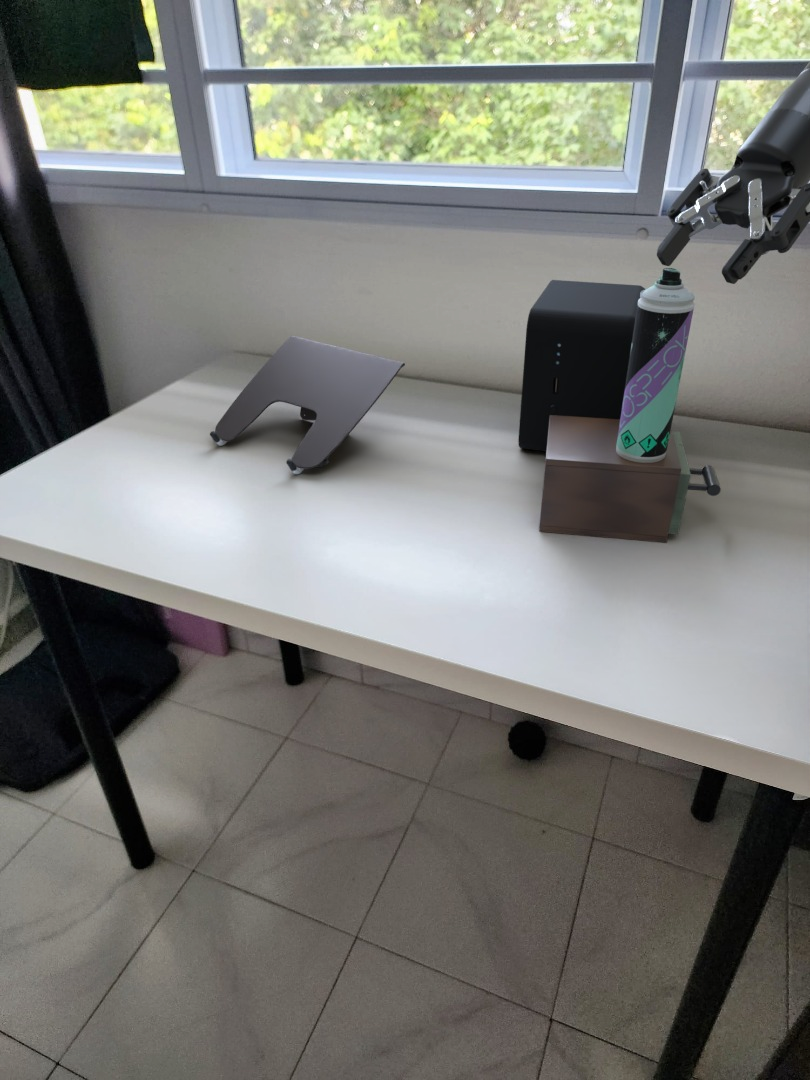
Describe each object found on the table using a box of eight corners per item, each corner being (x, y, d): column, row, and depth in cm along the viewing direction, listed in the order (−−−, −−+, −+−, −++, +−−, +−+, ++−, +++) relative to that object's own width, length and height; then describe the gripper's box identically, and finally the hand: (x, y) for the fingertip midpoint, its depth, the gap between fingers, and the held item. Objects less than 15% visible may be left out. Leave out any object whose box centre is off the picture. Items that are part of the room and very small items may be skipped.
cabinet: (657, 490, 97) (670, 422, 92) (666, 542, 87) (681, 468, 81) (543, 482, 99) (549, 414, 94) (538, 531, 89) (545, 458, 84)
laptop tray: (223, 468, 117) (193, 428, 110) (308, 367, 125) (285, 324, 118) (332, 511, 105) (307, 470, 98) (418, 397, 114) (400, 351, 106)
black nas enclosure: (621, 467, 102) (644, 321, 92) (516, 454, 107) (527, 312, 96) (633, 412, 119) (654, 282, 108) (542, 402, 123) (553, 276, 112)
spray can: (605, 447, 86) (631, 266, 75) (643, 438, 88) (674, 261, 77) (637, 467, 82) (668, 278, 71) (676, 457, 84) (713, 272, 73)
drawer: (703, 490, 95) (716, 433, 91) (716, 537, 86) (731, 477, 81) (561, 479, 98) (567, 424, 94) (559, 524, 89) (565, 465, 84)
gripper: (726, 102, 77) (627, 232, 79) (856, 109, 67) (738, 259, 68) (749, 156, 82) (655, 277, 84) (872, 170, 72) (763, 308, 74)
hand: (693, 269), depth 76 cm, fingers open, 8 cm apart
